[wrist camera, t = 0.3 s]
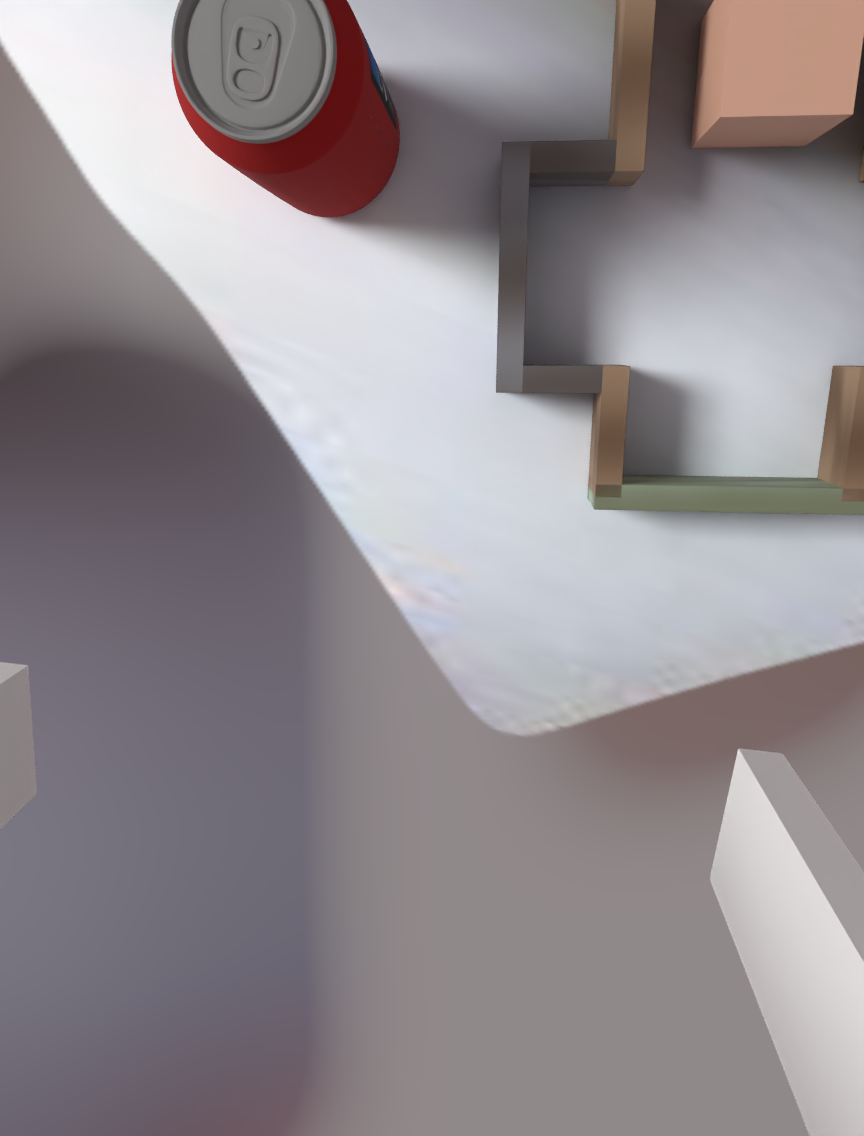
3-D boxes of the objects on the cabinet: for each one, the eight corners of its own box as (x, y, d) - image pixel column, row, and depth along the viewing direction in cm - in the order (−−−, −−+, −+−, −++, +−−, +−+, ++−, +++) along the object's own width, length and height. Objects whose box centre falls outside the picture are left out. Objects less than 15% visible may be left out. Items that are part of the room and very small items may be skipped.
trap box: (506, -14, 34) (506, -47, 31) (1038, -33, 32) (1091, -70, 29) (493, 496, 40) (493, 507, 37) (939, 504, 38) (975, 516, 35)
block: (701, 21, 34) (734, -33, 29) (819, 17, 33) (873, -38, 29) (690, 148, 35) (720, 116, 30) (804, 146, 35) (852, 114, 30)
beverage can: (417, 79, 35) (375, -52, 24) (385, 235, 37) (333, 185, 26) (273, 45, 35) (163, -101, 24) (250, 202, 37) (137, 138, 26)
